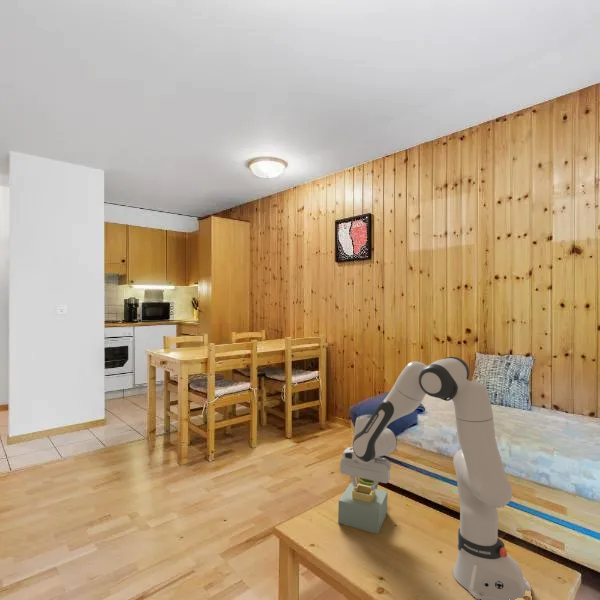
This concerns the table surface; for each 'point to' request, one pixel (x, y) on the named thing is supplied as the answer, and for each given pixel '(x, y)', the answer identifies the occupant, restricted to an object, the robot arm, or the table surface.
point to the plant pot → (367, 482)
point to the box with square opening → (363, 508)
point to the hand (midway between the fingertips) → (364, 488)
